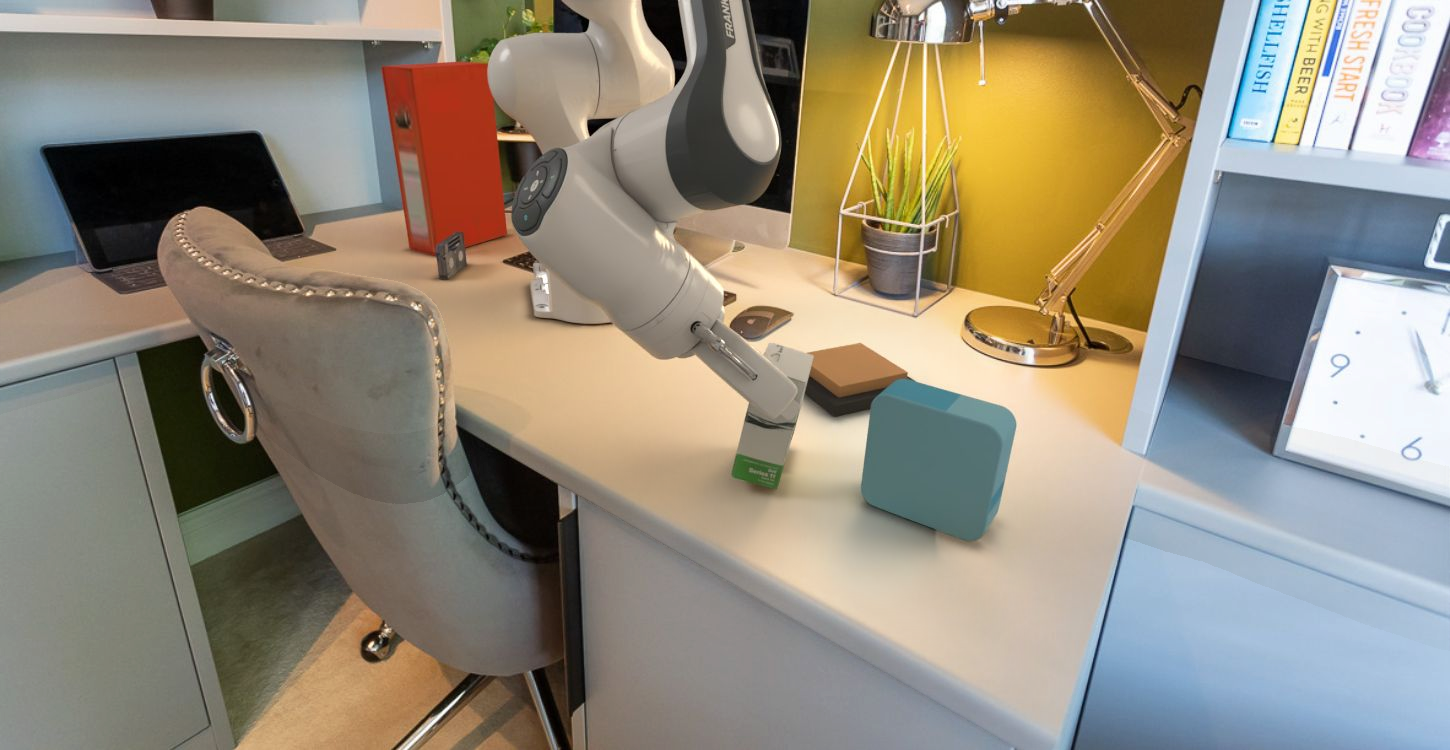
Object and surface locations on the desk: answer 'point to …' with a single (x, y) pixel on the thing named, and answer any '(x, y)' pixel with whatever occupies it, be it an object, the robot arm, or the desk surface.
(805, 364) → the ink box
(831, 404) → the pad stack
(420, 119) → the file binder
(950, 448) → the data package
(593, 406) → the desk surface
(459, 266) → the mini dv tape
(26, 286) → the desk surface
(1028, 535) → the desk surface
